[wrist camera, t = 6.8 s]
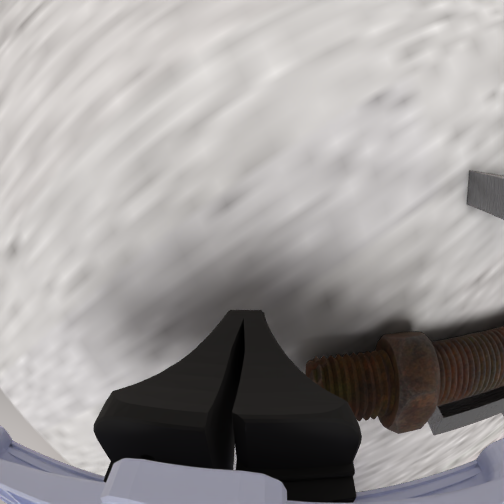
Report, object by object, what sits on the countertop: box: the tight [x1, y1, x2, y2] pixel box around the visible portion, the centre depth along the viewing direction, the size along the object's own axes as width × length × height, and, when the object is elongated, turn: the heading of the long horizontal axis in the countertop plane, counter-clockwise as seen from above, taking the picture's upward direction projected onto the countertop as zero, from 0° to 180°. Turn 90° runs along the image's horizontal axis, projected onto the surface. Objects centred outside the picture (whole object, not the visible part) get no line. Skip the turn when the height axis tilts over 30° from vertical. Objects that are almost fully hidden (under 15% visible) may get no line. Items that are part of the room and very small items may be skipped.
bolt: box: [306, 326, 504, 434], centre depth 12 cm, size 6×5×15 cm
